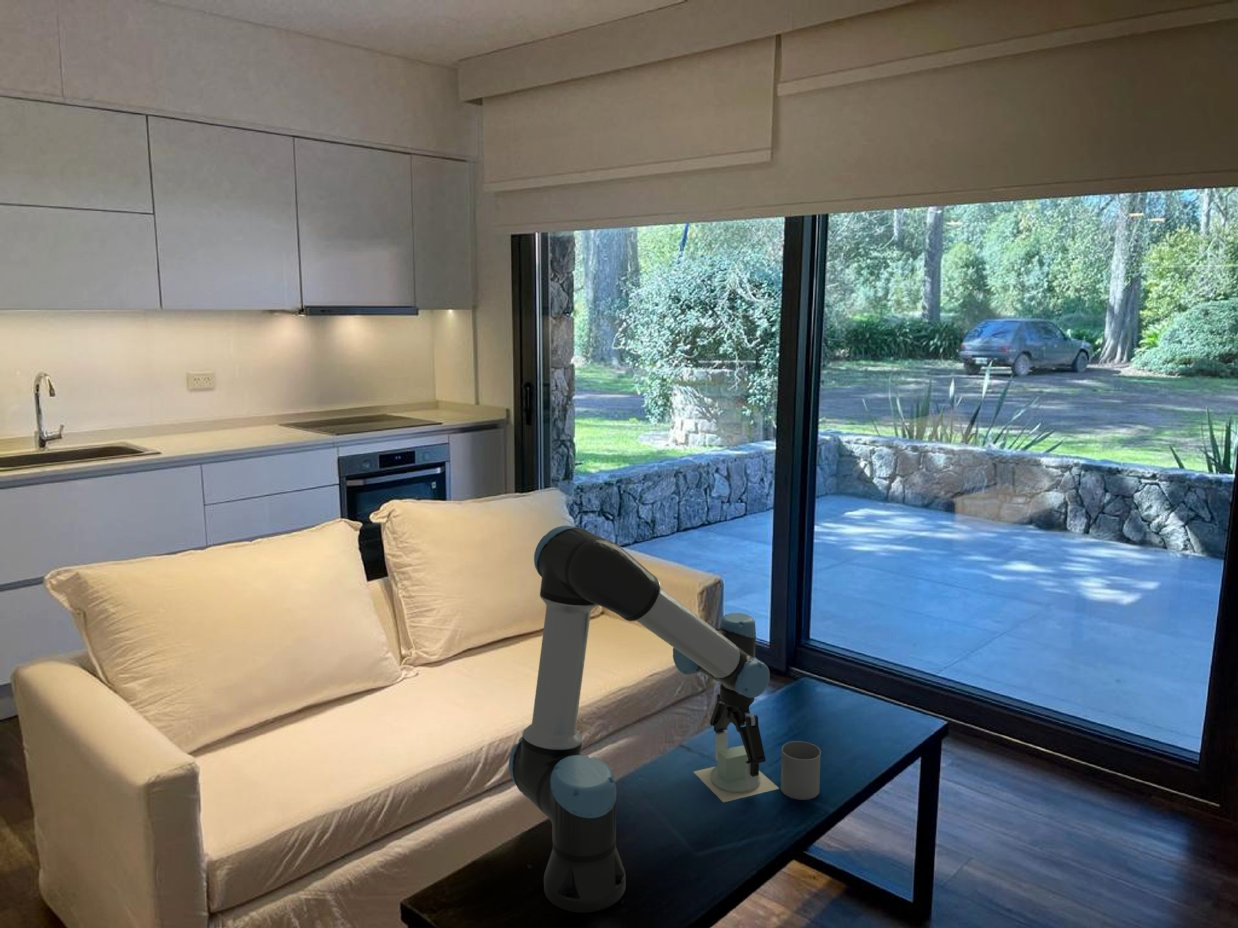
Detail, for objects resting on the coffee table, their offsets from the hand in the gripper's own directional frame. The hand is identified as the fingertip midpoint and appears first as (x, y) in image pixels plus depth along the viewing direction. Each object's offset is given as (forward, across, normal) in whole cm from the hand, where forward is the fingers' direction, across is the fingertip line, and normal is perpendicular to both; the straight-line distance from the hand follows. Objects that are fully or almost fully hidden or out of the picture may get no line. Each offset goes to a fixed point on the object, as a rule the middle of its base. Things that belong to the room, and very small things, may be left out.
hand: (736, 772), depth 208 cm
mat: (+2, 0, 0) cm, 2 cm away
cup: (+3, -9, -11) cm, 14 cm away
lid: (+2, 0, 0) cm, 2 cm away
